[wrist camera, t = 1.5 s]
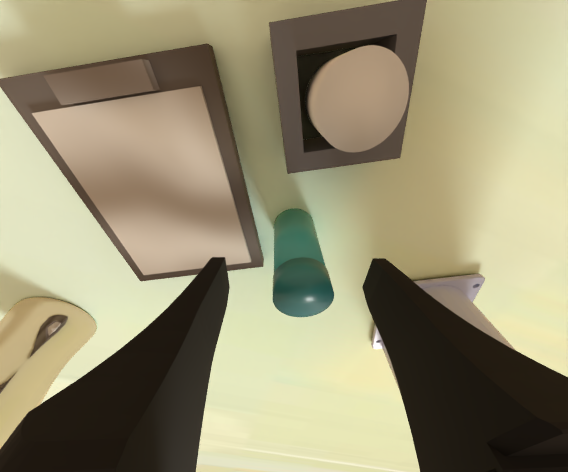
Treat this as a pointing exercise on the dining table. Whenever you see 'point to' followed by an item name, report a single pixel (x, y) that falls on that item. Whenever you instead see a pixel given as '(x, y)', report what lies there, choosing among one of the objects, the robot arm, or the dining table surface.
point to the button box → (330, 37)
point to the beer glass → (36, 353)
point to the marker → (299, 267)
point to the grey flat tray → (148, 156)
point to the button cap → (358, 97)
